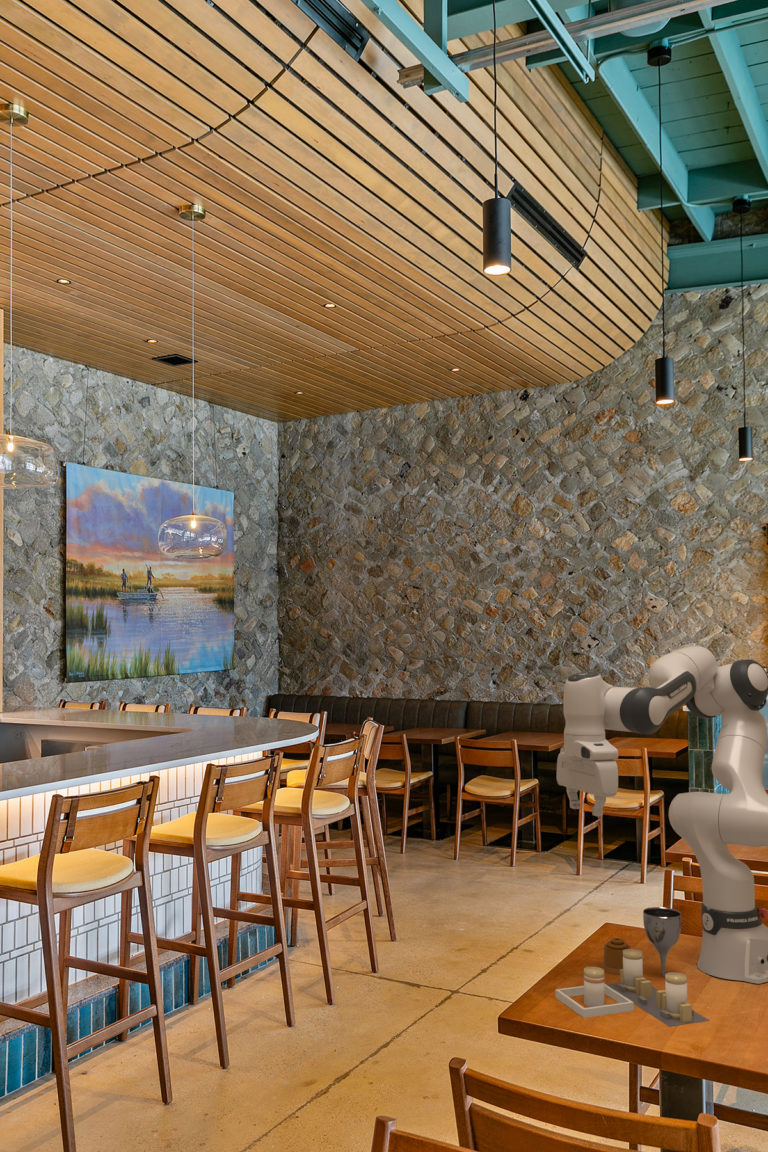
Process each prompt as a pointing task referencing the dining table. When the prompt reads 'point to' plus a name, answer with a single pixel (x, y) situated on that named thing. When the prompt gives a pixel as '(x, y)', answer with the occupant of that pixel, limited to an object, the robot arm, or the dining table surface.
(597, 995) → the marked fuse
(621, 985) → the fuse block
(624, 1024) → the dining table surface
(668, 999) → the fuse
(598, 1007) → the tray
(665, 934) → the wine glass
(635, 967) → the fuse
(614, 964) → the ornamental finial
